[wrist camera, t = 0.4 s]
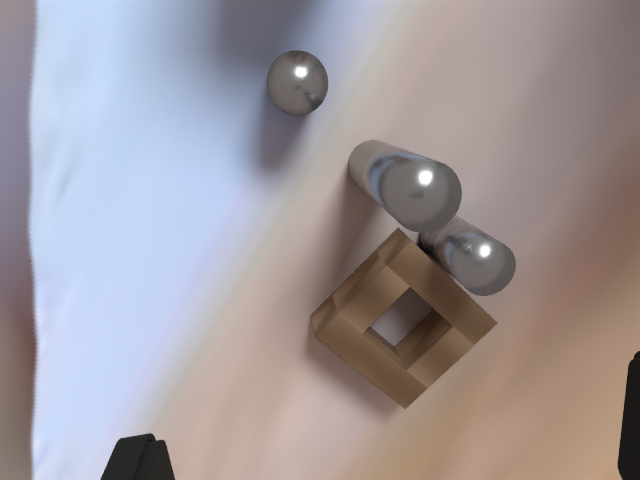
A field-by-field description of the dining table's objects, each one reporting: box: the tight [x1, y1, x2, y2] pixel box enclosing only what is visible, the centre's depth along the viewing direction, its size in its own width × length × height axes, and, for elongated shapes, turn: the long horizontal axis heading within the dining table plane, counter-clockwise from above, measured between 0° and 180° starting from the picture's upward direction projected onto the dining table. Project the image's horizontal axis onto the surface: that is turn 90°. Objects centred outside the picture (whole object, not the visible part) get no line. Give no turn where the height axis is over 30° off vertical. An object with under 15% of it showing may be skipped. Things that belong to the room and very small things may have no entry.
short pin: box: [267, 51, 328, 115], centre depth 29 cm, size 4×4×5 cm
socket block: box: [311, 228, 497, 409], centre depth 36 cm, size 10×10×4 cm
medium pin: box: [419, 215, 516, 296], centre depth 32 cm, size 4×4×8 cm
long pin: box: [348, 140, 462, 233], centre depth 28 cm, size 4×4×12 cm
